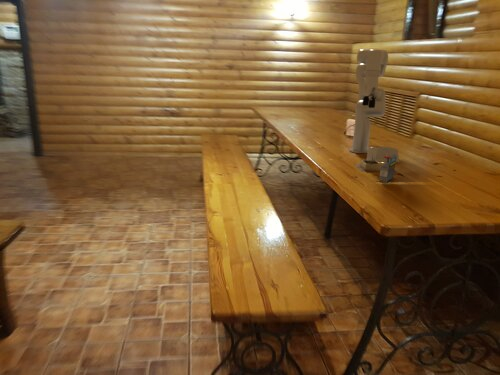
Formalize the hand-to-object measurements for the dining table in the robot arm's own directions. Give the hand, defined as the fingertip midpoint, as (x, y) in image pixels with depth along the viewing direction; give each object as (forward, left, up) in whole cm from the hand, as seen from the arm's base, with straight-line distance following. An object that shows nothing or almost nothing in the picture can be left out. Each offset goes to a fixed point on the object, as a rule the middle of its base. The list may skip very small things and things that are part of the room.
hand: (368, 106), depth 209 cm
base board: (+21, 0, -30) cm, 37 cm away
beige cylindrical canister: (+22, -3, -29) cm, 36 cm away
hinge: (+4, +11, -31) cm, 33 cm away
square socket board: (+22, +1, -29) cm, 36 cm away
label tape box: (+39, -1, -31) cm, 50 cm away
